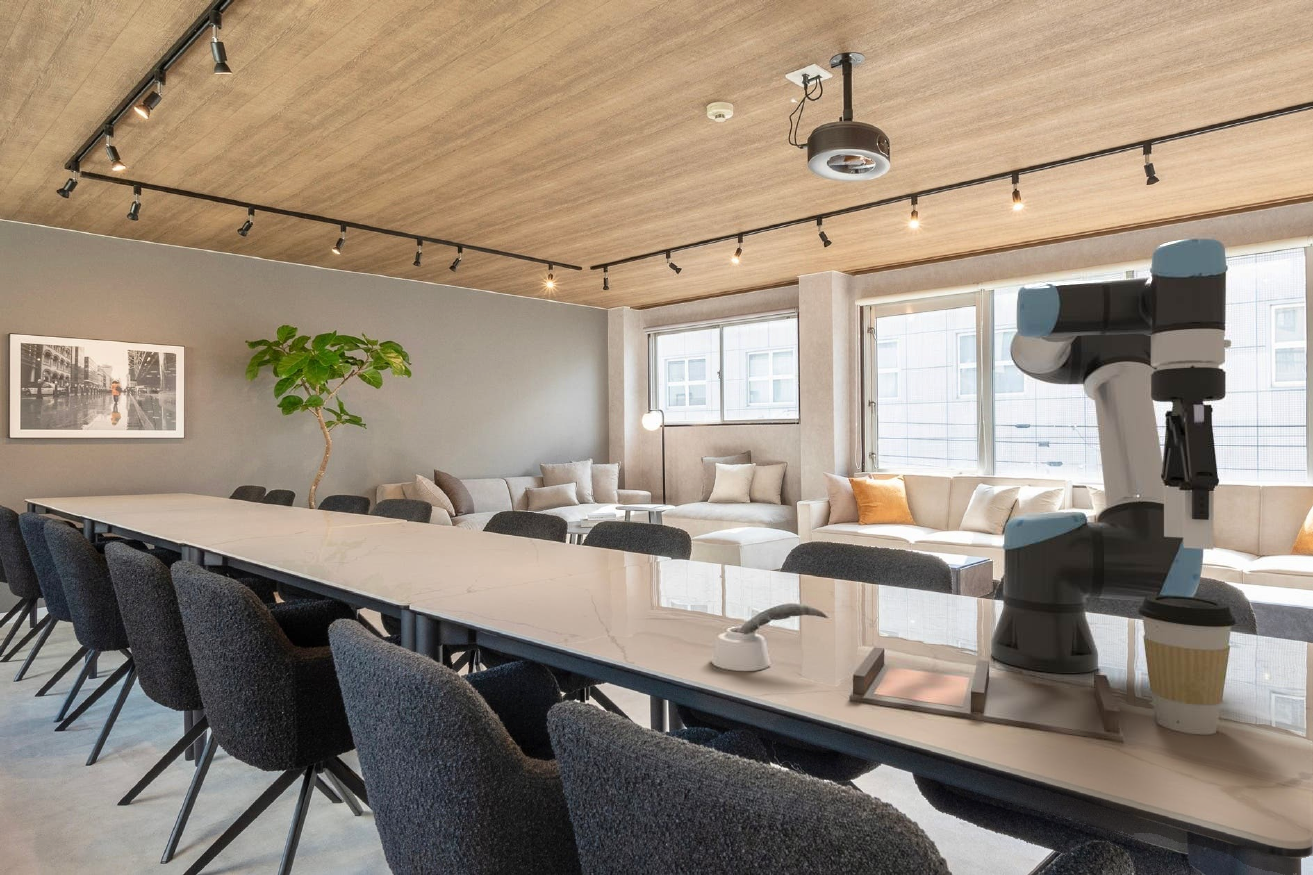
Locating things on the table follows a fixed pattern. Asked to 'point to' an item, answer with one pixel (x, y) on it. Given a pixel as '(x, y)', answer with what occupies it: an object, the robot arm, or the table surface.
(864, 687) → the slot rack
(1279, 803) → the table surface
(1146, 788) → the table surface
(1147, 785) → the table surface
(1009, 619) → the robot arm
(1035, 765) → the table surface
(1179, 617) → the coffee cup
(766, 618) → the inkwell
